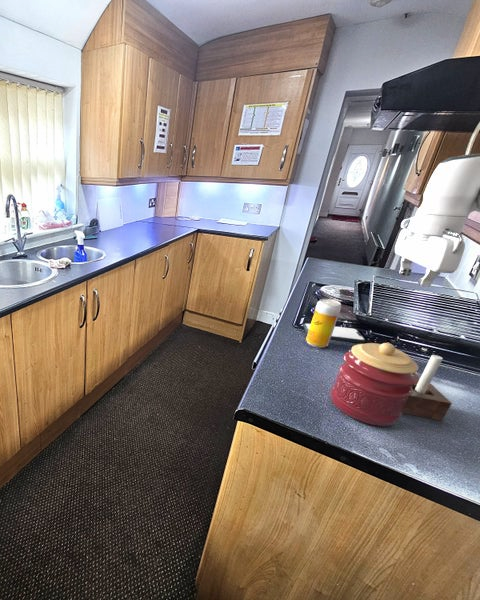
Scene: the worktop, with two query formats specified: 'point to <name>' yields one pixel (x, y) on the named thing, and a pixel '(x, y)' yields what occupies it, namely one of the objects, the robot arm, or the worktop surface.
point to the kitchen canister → (374, 383)
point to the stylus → (428, 374)
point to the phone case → (343, 334)
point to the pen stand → (427, 404)
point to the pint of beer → (323, 322)
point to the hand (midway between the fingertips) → (413, 280)
